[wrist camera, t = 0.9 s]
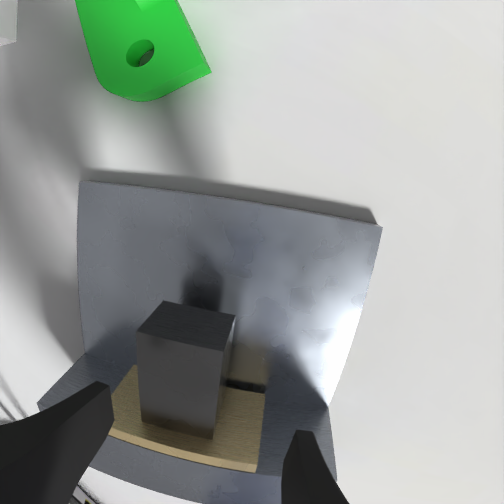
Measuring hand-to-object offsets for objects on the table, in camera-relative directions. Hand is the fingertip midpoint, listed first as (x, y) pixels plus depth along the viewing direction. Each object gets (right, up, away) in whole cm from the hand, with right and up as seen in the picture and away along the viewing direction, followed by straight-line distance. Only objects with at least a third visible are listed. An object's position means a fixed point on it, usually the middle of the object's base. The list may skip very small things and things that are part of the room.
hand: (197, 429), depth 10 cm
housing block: (-1, +1, +10) cm, 10 cm away
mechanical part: (-5, +21, +5) cm, 23 cm away
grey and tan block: (-1, -2, +9) cm, 9 cm away
